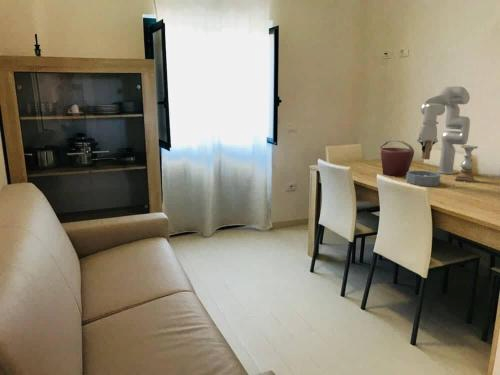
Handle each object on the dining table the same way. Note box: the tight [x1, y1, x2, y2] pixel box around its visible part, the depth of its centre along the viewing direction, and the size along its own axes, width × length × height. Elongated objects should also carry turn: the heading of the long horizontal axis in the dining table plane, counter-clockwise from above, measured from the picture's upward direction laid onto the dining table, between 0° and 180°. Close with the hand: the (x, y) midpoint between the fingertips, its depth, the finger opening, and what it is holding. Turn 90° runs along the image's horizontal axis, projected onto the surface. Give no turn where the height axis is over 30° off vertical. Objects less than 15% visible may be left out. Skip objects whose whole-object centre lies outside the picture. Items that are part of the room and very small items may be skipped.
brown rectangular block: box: [421, 141, 432, 160], centre depth 256 cm, size 6×3×12 cm, turn 175°
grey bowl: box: [405, 169, 441, 187], centre depth 261 cm, size 20×20×6 cm
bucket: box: [380, 140, 415, 178], centre depth 286 cm, size 24×22×25 cm
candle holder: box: [454, 144, 478, 183], centre depth 267 cm, size 11×11×24 cm
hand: (426, 151), depth 256 cm, fingers closed on brown rectangular block, 3 cm apart
